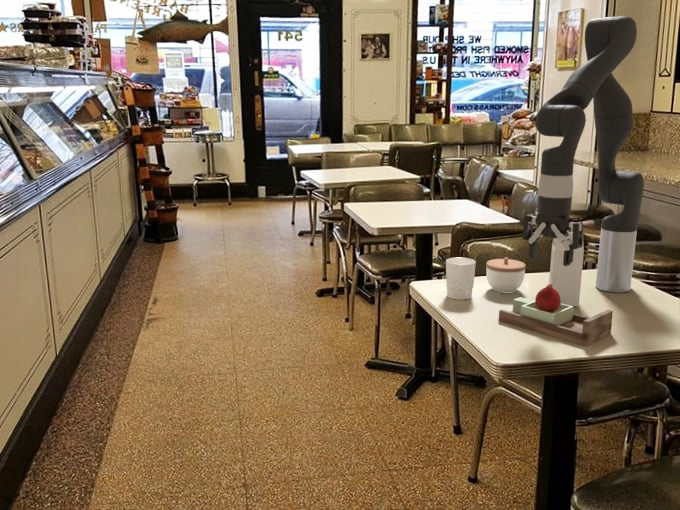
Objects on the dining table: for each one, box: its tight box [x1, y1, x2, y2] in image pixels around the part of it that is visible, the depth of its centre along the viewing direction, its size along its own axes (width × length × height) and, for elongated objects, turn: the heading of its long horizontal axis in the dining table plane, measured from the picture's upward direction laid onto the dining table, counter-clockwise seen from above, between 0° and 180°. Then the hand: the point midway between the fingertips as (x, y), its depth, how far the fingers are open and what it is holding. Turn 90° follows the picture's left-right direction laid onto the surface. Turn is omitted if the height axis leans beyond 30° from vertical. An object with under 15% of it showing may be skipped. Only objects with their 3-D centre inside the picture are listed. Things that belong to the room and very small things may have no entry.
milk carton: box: [548, 231, 585, 308], centre depth 178 cm, size 7×7×19 cm
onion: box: [534, 283, 561, 313], centre depth 162 cm, size 6×6×8 cm
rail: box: [498, 309, 614, 347], centre depth 161 cm, size 11×23×6 cm, turn 43°
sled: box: [512, 296, 574, 325], centre depth 164 cm, size 9×13×3 cm
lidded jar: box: [485, 257, 527, 293], centre depth 190 cm, size 11×11×9 cm
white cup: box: [445, 256, 476, 301], centre depth 184 cm, size 8×8×10 cm
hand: (550, 261), depth 160 cm, fingers open, 8 cm apart
